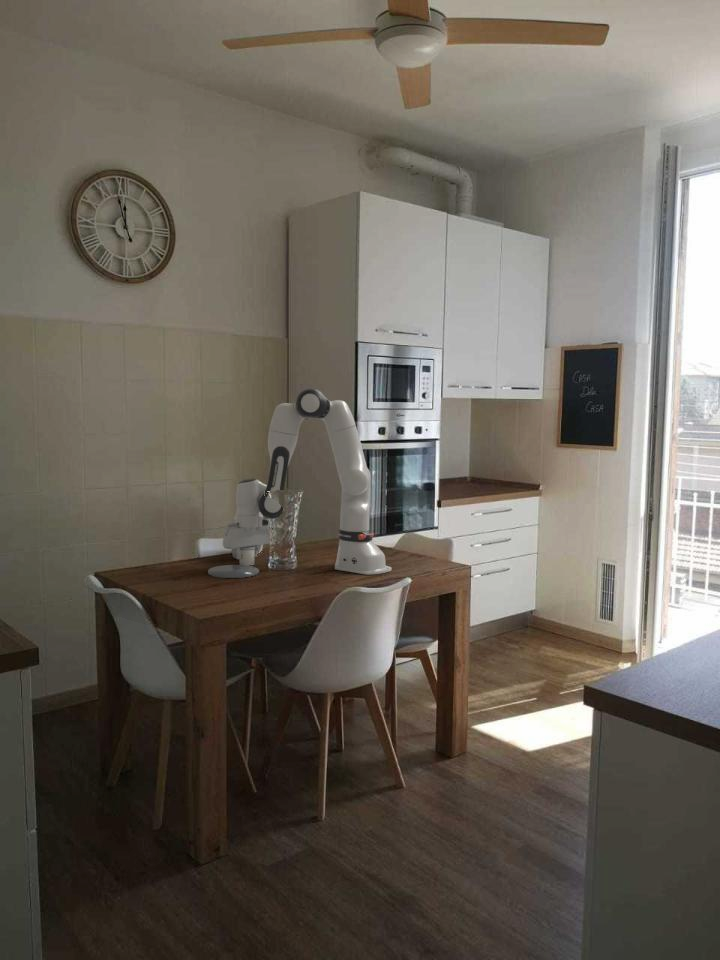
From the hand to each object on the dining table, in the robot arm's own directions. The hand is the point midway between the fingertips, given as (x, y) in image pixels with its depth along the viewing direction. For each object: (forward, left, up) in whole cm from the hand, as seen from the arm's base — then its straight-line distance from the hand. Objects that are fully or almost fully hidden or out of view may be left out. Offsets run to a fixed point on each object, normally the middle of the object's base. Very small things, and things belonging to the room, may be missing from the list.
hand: (247, 558), depth 289 cm
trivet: (-8, +12, -3) cm, 15 cm away
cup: (0, 0, -3) cm, 3 cm away
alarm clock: (+14, -11, -3) cm, 18 cm away
